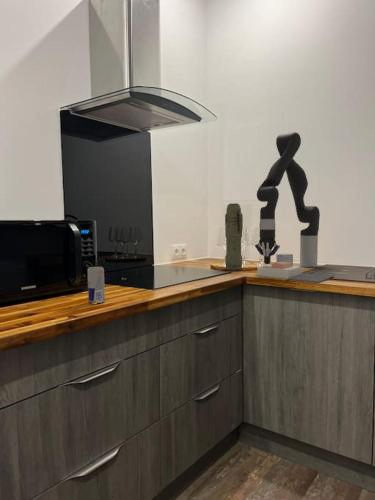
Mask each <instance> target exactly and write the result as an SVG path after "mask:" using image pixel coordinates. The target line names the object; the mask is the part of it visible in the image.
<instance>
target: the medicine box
mask: <svg viewBox="0 0 375 500" xmlns="http://www.w3.org/2000/svg"><path fill="white" fill-rule="evenodd" d="M275 254H276V257H275V258H276V259H275V260H276V262H291V263H292V266H294V255H293V253H275ZM276 262H275V263H276Z"/></svg>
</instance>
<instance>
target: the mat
mask: <svg viewBox="0 0 375 500" xmlns="http://www.w3.org/2000/svg"><path fill="white" fill-rule="evenodd" d="M331 277H334V278H335V276H334V275H328V274H326V275H325V274H315V273H313V274H312V273H307V272H306V273H302V274H301V275H297V276H294V277H291V278H288V279H287V280H288V281H296V282H304V283H305V282H307V283H313V284H315V283H316V284H319V283H323V282H326V281H328V280H330V279H329V278H331ZM327 279H328V280H327ZM331 279H332V278H331Z"/></svg>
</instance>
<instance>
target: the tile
mask: <svg viewBox="0 0 375 500" xmlns="http://www.w3.org/2000/svg"><path fill="white" fill-rule="evenodd" d="M270 265H271V268H279V269H284V268H288V267H292V263H291V262H273V263H270Z"/></svg>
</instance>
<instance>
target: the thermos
mask: <svg viewBox="0 0 375 500" xmlns="http://www.w3.org/2000/svg"><path fill="white" fill-rule="evenodd" d="M243 219H244V217H243V212H242V208H241V205H240V204H239V203H237V202H236V203H228V204H227V207H226V212H225V215H224V225H225V226H224V227H225V229H224V231H225V234H224V235H225V238H226V241H225V243H226V244H225V245H226V255H225V256H224V259H225V262H224V263H225V270H226V271H232V272H233V271H242V270H243V256H242V238H243V226H244V225H243V222H244V221H243ZM241 269H242V270H241Z"/></svg>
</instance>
